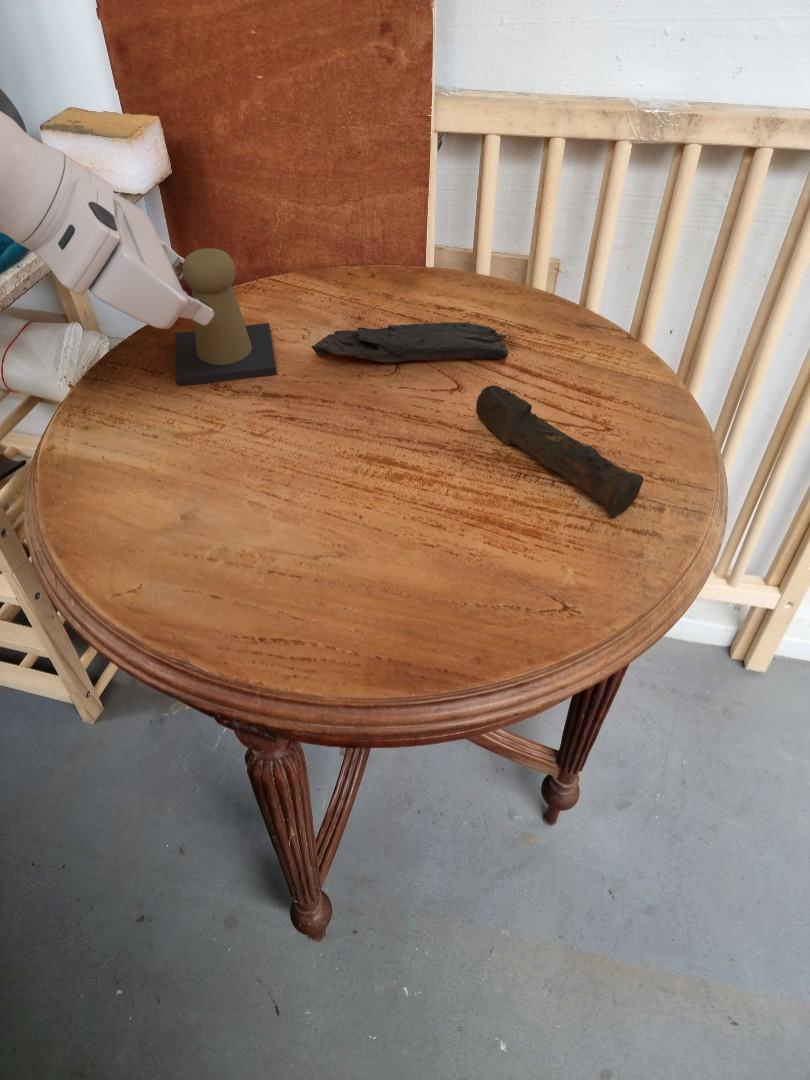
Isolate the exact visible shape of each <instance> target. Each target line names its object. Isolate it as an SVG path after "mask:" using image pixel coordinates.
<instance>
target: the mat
mask: <svg viewBox="0 0 810 1080" xmlns="http://www.w3.org/2000/svg"><path fill="white" fill-rule="evenodd" d="M245 327H246V330H247V333H248V336H249V339H250V342H251V345H252V349H251V352H250V353H249V354H248V356H247V357H245V358H244V359H242V360H240V361H238V362H235V363H231V364H225V365H215V364H210V363H206V362H204V361H202V360H201V359H200V358H199V357H198V355H197V350H196V336H195V330H190V331H189V330H188V331H181V332H175V334H174V336H175V337H174V338H175V339H174V340H175V343H174V345H175V348H174V349H175V351H174V352H175V358H174V359H175V360H174V361H175V382H176V387H181V386H184V387H185V386H189V385H190V386H192V385H200V384H209V383H217V382H226V381H234V380H235V381H236V380H244V379H253V378H261V377H269V376H276V375H278V373H277V372H278V371H277V365H276V358H275V352H274V347H273V345H274V344H273V340H272V333H271V327H270V323H269V322H266V323H256V324H247V325H246V324H245Z"/></svg>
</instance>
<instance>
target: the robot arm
mask: <svg viewBox="0 0 810 1080" xmlns="http://www.w3.org/2000/svg"><path fill="white" fill-rule="evenodd" d="M0 234H4V235H6V236H7V237H9V238H10V239H11V240H12V241H14V243H16V244H18V245H20V246H22V247H24V248H25V249H27V250H29V251H31V252H33V254H34V255H35V256H36V257H37V258H38V259H40V260H41V261H42V262H43V263H44V264H45V265H46V266H47V267H48V268H49V269H50V270H51V271H52V273H53V275H55V278H56V279H57V280H58V281H59V283H60V285H62V286H63V287H64V288H65V289H67V290H69V291H71V292H73V293H75V294H77V295H80V296H83V295H84V294H85V293H86V292H87V290H88V291H89V292H90V294H92V295H93V296H94V297H95V298H97V299H98V300H99V301H101V302H102V303H103V304H106V305H107V306H109V307H111V308H113V309H115V310H117V311H119V312H121V313H123V314H125V315H127V316H129V317H131V318H133V319H136V320H137V321H140V322H141V323H144V324H146V325H148V326H150V327H153V328H155V329H162V330H168V329H170V328H172V327H173V326H174V324H175V323H176V322H177V320H178V319H179V318H183V319H189V320H192V321H196V322H198V323H200V324H201V325H207V324H208V323H209V322H210V321H211V319H212V318H213V317H214V312H213V310H212V308H211V306H210V304H208V303H206V302H205V301H203V300H202V299H200V298H197V299H194V298H193V296H190V295H188V293H187V292H186V291H185V290H183V287H182V285H181V283H180V281H181V282H186V281H185V278H184V274H183V263H184V261H185V258H184V257H182V256H180V255H179V254H178V253H177V252H175V251H174V249H172V248H171V247H170V246H169V245H168V244H167V243H166V242H165V241H164V240H163V239H161V238H159V235H158V232H157V231H156V229H155V226H154V225H153V222H152V220H151V218H150V217H149V216H148V214H146V212H145V211H143V210H142V209H141V208H139V206H136V205H135V204H134V203H132V202H130V201H128V200H127V199H126V198H124V197H122V196H120V195H119V194H117V193H115V192H114V187H113V185H112V184H111V183H110V182H108V181H107V180H105V179H104V178H103V177H101V176H100V175H98V174H97V173H95V172H93V171H92V170H90V169H88V167H86V166H84V165H82V164H81V163H79V162H78V161H77V160H75V159H73V158H72V157H70V155H67V154H66V153H65V152H63V151H62V150H60V149H58V148H56V147H54V146H51V145H47V144H45V143H42V142H41V141H38V140H36V139H35V138H33V137H32V136H31V135H29V134H28V132H27V128H26V124H25V122H24V120H23V117H22V115H21V114H20V112H19V111H18V109H17V107H16V106H15V104H14V103H13V101H12V100H11V99H10V98H9V96H8V95H7V94H6V93H5V92H4V91H3V90H2V88H0Z"/></svg>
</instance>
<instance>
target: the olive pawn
mask: <svg viewBox="0 0 810 1080" xmlns="http://www.w3.org/2000/svg"><path fill="white" fill-rule="evenodd" d="M184 259H185V261H184V263H183V274H184V278H185V281H184V282H185V283H186V285H187V286H188V287H189V288H190V289H191V294H192V298H194V299H197V298H200V299H202V300H203V301H205V302H206V303H208V304H210V306H211V308H212V310H213V312H214V317H213V318H212V319H211V321H210V322H209V323H208V324H207V325H201V324H200V323H198V322H196V321H194V320H193V321H194V331H195V336H196V350H197V355H198V357H199V358H200V359H201V360H202V361H204V362H206V363H210V364H215V365H225V364H231V363H235V362H238V361H240V360H242V359H244V358H245V357H247V356H248V354H249V353H250V352H251V349H252V345H251V342H250V339H249V336H248V333H247V330H246V327H245V325H246V324H245V321H244V317H243V315H242V310H241V308H240V305H239V302H238V299H237V295H236V292H235V289H234V286H233V283H234V281H235V278H236V267H235V264H234V261H233V259H232V257H231V256H230V255H229V254H228V253H227V252H226V251H224V250H222V249H219V248H214V247H206V248H199V249H197V250H194V251H192V252H191V253H189V254H188V255H187V256H185V258H184Z"/></svg>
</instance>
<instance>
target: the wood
mask: <svg viewBox="0 0 810 1080" xmlns="http://www.w3.org/2000/svg"><path fill="white" fill-rule="evenodd" d="M505 338H507V335H506V334H499V333H498V332H497V330H496V329H493V327H490V326H485V325H481V324H480V325H479V324H473V323H471V322H470V321H467V322H466V321H465V322H463V321H462V322H461V321H460V322H459V321H456V322H455V321H453V322H452V321H451V322H435V323H434V322H433V323H430V322H429V323H427V322H425V323H424V322H423V323H411V324H388V326H387V327H381V328H367V327H357V329H356V330H350V329H348V330H347V329H346V330H336V331H333V333H329V334H327V335H326V336H325V337H323V338H322V339H321V340H319V341H317V342H316V343H315V344H313V345H311V346H310V347H311V349H312V350H313V351H314V353H315V354H316V355H317V356H320V357H324V356H330V355H333V356H335V357H343V356H347V357H353V358H359V359H364V360H371V361H375V362H379V363H385V362H386V363H400V362H410V361H422V360H423V361H424V360H426V361H427V360H428V361H432V360H434V361H435V360H436V361H439V360H442V361H447V360H465V359H506V358H508V356H509V349H508V348H507V344H506V343H503V342H500V341H504V339H505Z"/></svg>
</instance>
